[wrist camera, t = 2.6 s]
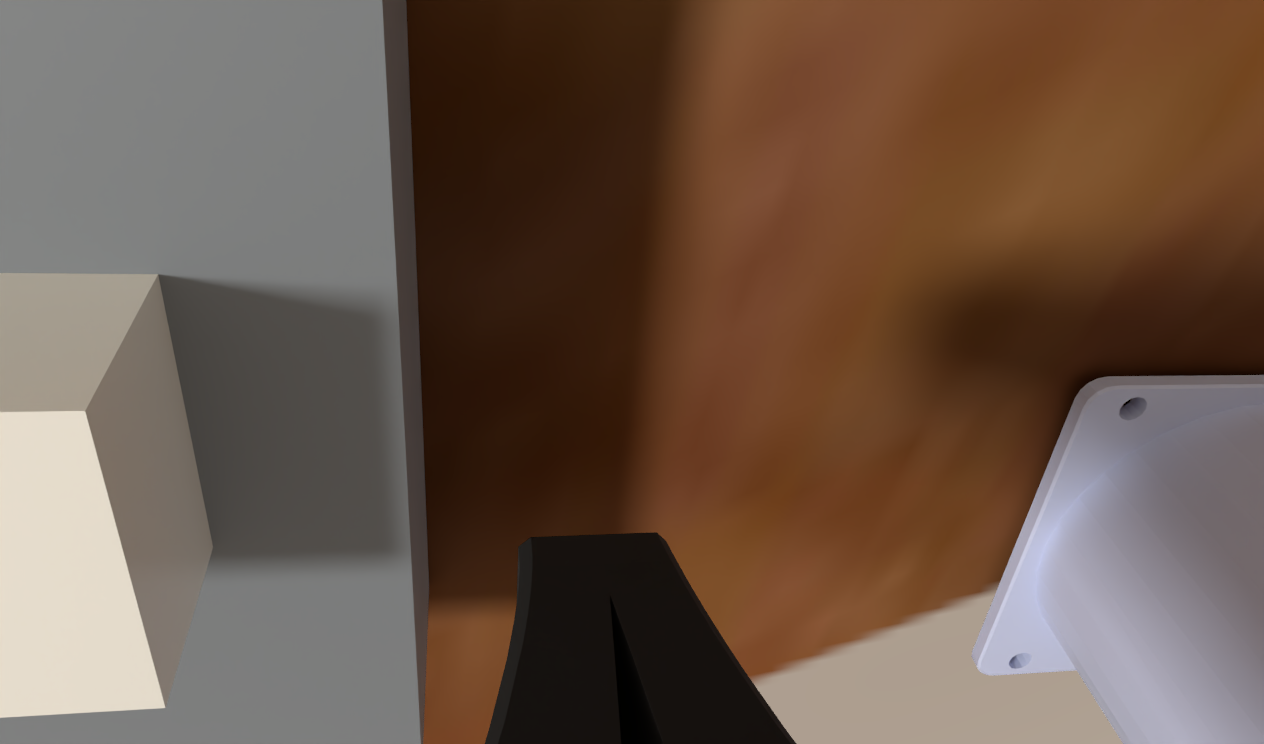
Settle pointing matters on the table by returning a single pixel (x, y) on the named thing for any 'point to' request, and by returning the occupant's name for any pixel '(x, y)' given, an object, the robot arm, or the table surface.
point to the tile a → (93, 496)
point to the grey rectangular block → (251, 331)
